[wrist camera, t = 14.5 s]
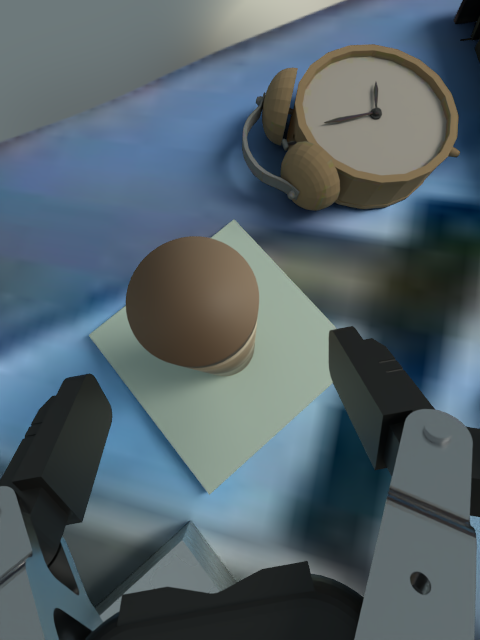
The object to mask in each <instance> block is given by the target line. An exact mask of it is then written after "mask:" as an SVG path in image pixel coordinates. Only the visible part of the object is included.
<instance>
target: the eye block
mask: <svg viewBox="0 0 480 640" xmlns="http://www.w3.org/2000/svg"><path fill="white" fill-rule="evenodd" d="M235 583H236V582H235V580H234V579H233V577H232V576H231V575H230V573H229V572H228V571H227V569H226V568H225V567H224V565H223V564H222V562H221V561H220V560H219V558H218V557H217V556H216V554H215V553H214V552H213V550H212V549H211V548H210V546H209V545H208V543H207V542H206V541H205V539H204V538H203V537H202V535H201V534H200V533H199V531H198V530H197V528H196V527H195V526H194V524H193V523H192V522H191V521H190V522H189V523H188V524H187V525H185V526H184V527H183V528H182V529H181V530H180V531H179V532H178V533H177V534H176V535H174V536H173V537H172V538H171V539H170V540H169V541H168V542H167V543H166V544H165V545H164V546H162V547H161V548H160V549H159V550H158V551H157V552H156V553H155V554H154V555H153V556H151V557H150V558H149V559H148V560H147V561H146V562H145V563H144V564H143V565H142V566H140V567H139V568H138V569H137V570H136V571H135V572H134V573H133V574H132V575H131V576H129V577H128V578H127V579H126V580H125V581H124V582H123V583H122V584H121V585H120V586H118V587H117V588H116V589H115V590H114V591H113V592H112V593H111V594H110V595H109V596H108V597H106V598H105V599H104V600H103V601H102V602H101V603H100V604H99V605H98V606H97V607H95V610H96V611H97V612H98V614H99V616H100V617H101V619H102V621H103V622H104V621H105V620H107V619H108V618H110V617H111V616H113V615H114V614H115V613H117V612H119V610H120V604H121V598H122V595H124V594H129V593H135V592H140V591H146V590H151V589H157V588H162V587H174V588H180V589H186V590H192V591H199V592H205V593H218V592H220V591H222V590H224V589H226V588H228V587H230V586H232V585H233V584H235Z"/></svg>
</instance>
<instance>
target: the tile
mask: <svg viewBox="0 0 480 640" xmlns="http://www.w3.org/2000/svg"><path fill="white" fill-rule="evenodd" d="M211 239H215V240H218V241H220V242H223V243H225V244H227V245H229V246H230V247H232V248H233V249H234V250H236V251H237V252H238V253H239V254H240V255H241V256H242V257H243V258H244V259H245V260H246V261H247V263H248V264H249V266H250V267H251V269H252V271H253V273H254V275H255V278H256V281H257V284H258V290H259V310H258V319H257V328H256V338H255V347H254V354H253V357H252V359H251V361H250V363H249V364H248V365H247V366H246V367H245V368H244V369H243V370H242V371H241V372H239V373H237V374H235V375H231V376H217V375H213V374H209V373H205V372H201V371H198V370H194V369H190V368H186V367H182V366H178V365H174V364H171V363H167V362H165V361H163V360H160V359H158V358H157V357H155V356H153V355H152V354H151V353H149V352H148V351H147V350H146V349H145V348H144V347H143V346H142V345H141V344H140V343H139V342H138V340H137V339H136V337H135V336H134V334H133V332H132V330H131V328H130V325H129V322H128V319H127V313H126V306H125V307H123V308H122V309H121V310H120V311H118V312H117V313H116V314H115V315H113V316H112V317H111V318H110V319H108V320H107V321H106V322H105V323H103V324H102V325H101V326H100V327H98V328H97V329H96V330H95V331H93V332H92V333H91V334H90V335H89V336H90V338H91V339H92V340H93V342H94V343H95V344H96V346H97V347H98V348H99V350H100V351H101V352H102V354H103V355H104V356H105V358H106V359H107V360H108V362H109V363H110V364H111V366H112V367H113V368H114V369H115V371H116V372H117V373H118V375H119V376H120V377H121V379H122V380H123V381H124V383H125V384H126V385H127V387H128V388H129V389H130V391H131V392H132V393H133V395H134V396H135V397H136V399H137V400H138V401H139V402H140V404H141V405H142V406H143V408H144V409H145V410H146V412H147V413H148V414H149V416H150V417H151V418H152V420H153V421H154V422H155V424H156V425H157V426H158V428H159V429H160V430H161V432H162V433H163V434H164V435H165V437H166V438H167V439H168V441H169V442H170V443H171V445H172V446H173V447H174V449H175V450H176V451H177V453H178V454H179V455H180V457H181V458H182V459H183V461H184V462H185V463H186V465H187V466H188V467H189V468H190V470H191V471H192V472H193V474H194V475H195V476H196V478H197V479H198V480H199V482H200V483H201V484H202V486H203V487H204V488H205V490H206V491H207V492H208V494H209V495H210V494H211V493H212V492H213V491H214V490H215V489H216V488H217V487H218V486H219V485H221V484H222V483H223V482H224V481H225V480H226V479H227V478H228V477H229V476H231V475H232V474H233V473H234V472H235V471H236V470H237V469H238V468H239V467H240V466H242V465H243V464H244V463H245V462H246V461H247V460H248V459H249V458H250V457H251V456H253V455H254V454H255V453H256V452H257V451H258V450H259V449H260V448H261V447H263V446H264V445H265V444H266V443H267V442H268V441H269V440H270V439H271V438H272V437H274V436H275V435H276V434H277V433H278V432H279V431H280V430H281V429H282V428H283V427H285V426H286V425H287V424H288V423H289V422H290V421H291V420H292V419H293V418H294V417H296V416H297V415H298V414H299V413H300V412H301V411H302V410H303V409H304V408H306V407H307V406H308V405H309V404H310V403H311V402H312V401H313V400H314V399H315V398H317V397H318V396H319V395H320V394H321V393H322V392H323V391H324V390H325V389H326V388H328V387H329V386H330V385H331V384H332V383H333V382H332V379H331V376H330V372H329V331H330V330H334V329H337V328H336V327H335V326H334V325H333V324H332V323H331V322H330V321H329V320H328V319H327V318H326V317H325V316H324V315H323V314H322V312H321V311H320V310H319V309H318V308H317V307H316V306H315V305H314V304H313V303H312V302H311V301H310V300H309V299H308V298H307V296H306V295H305V294H304V293H303V292H302V291H301V290H300V289H299V288H298V287H297V286H296V285H295V284H294V283H293V282H292V280H291V279H290V278H289V277H288V276H287V275H286V274H285V273H284V272H283V271H282V270H281V269H280V268H279V267H278V266H277V264H276V263H275V262H274V261H273V260H272V259H271V258H270V257H269V256H268V255H267V254H266V253H265V252H264V251H263V250H262V248H261V247H260V246H259V245H258V244H257V243H256V242H255V241H254V240H253V239H252V238H251V237H250V236H249V235H248V234H247V232H246V231H245V230H244V229H243V228H242V227H241V226H240V225H239V224H238V223H237V222H236V221H235V220H233V221H231V222H230V223H229V224H228V225H226V226H225V227H224V228H223V229H221V230H220V231H219V232H218V233H216V234H215V235H214V236H213V237H211Z"/></svg>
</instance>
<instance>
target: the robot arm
mask: <svg viewBox="0 0 480 640" xmlns="http://www.w3.org/2000/svg"><path fill="white" fill-rule="evenodd" d="M329 372H330V376H331V379H332V382H333V384H334V386H335V388H336V390H337V392H338V394H339V396H340V399H341V401H342V403H343V405H344V407H345V409H346V411H347V413H348V415H349V417H350V419H351V421H352V423H353V425H354V428H355V430H356V432H357V434H358V436H359V438H360V440H361V442H362V444H363V446H364V448H365V450H366V452H367V454H368V457H369V459H370V461H371V463H372V465H373V467H374V469H375V470H378V469H383V468H388V470H389V472H390V474H391V476H392V480H391V484H390V489H389V492H388V496H387V500H386V504H385V509H384V513H383V517H382V522H381V526H380V530H379V535H378V539H377V543H376V548H375V552H374V556H373V561H372V565H371V569H370V574H369V578H368V582H367V587H366V591H365V595H364V598H363V597H362V596H361V595H360V594H358V593H357V592H356V591H354V590H352V589H351V588H349V587H348V586H346V585H344V584H342V583H340V582H338V581H336V580H333V579H331V578H327V577H324V576H321V575H315V574H311V573H310V569H309V565H308V561H305V562H299V563H294V564H288V565H283V566H277V567H272V568H266V569H262V570H260V571H258V572H256V573H254V574H252V575H250V576H248V577H247V578H245V579H243V580H241V581H239V582H237V583H235V584H233V585H232V586H230V587H228V588H226V589H224V590H222V591H220V592H218V593H205V592H199V591H192V590H186V589H180V588H174V587H162V588H157V589H151V590H146V591H140V592H135V593H129V594H124V595H122V598H121V604H120V610H119V612H117V613H115V614H114V615H113V616H111V617H110V618H108V619H107V620H105V621H104V622H103V621H102V619H101V617H100V616H99V614H98V612H97V611H96V610H95V608H94V607H93V605H92V604H91V602H90V600H89V598H88V596H87V594H86V592H85V589H84V586H83V584H82V581H81V579H80V576H79V574H78V571H77V569H76V566H75V564H74V561H73V559H72V556H71V554H70V551H69V548H68V546H67V543H66V541H65V539H64V538H63V537H62V535H63V532H64V529H65V526H66V525H69V524H74V523H80V522H82V521H83V518H84V514H85V511H86V508H87V504H88V501H89V497H90V494H91V491H92V487H93V484H94V480H95V477H96V474H97V470H98V467H99V463H100V460H101V457H102V453H103V450H104V446H105V443H106V439H107V436H108V433H109V429H110V426H111V422H112V409H111V406H110V403H109V402H108V400H107V398H106V396H105V394H104V393H103V391H102V389H101V387H100V385H99V384H98V382H97V380H96V378H95V377H94V376H93V375H92V374H85V375H80V376H74V377H69V378H66V379H65V380H64V381H63V383H62V385H61V387H60V389H59V391H58V393H57V395H56V396H52V397H51V398H50V399H49V400H48V401H47V402H46V403H45V404H44V405H43V406H42V407H41V408H40V409H39V411H38V413H37V414H36V416H35V418H34V420H33V422H32V423H31V425H32V426H31V427H29V429H28V431H27V433H26V434H25V439H23V440H22V442H21V443H20V445H19V447H18V449H17V451H16V453H15V454H14V456H13V458H12V460H11V462H10V463H9V465H8V467H7V469H6V471H5V473H4V474H3V476H2V478H1V480H0V640H474V633H475V591H476V549H477V543H476V533H475V529H474V528H473V527H471V525H470V515H471V516H477V517H480V429H477V428H470V427H466V426H465V425H464V424H463V423H462V422H460V421H459V420H458V419H456V418H455V417H453V416H451V415H449V414H447V413H445V412H442V411H439V410H435V409H434V407H433V406H432V405H431V404H430V402H429V401H428V400H427V399H426V397H425V396H424V395H423V393H422V392H421V391H420V390H419V388H418V387H417V386H416V385H415V383H414V382H413V381H412V379H411V378H410V377H409V376H408V374H407V373H406V372H405V371H403V369H402V367H401V365H400V364H399V363H398V362H397V361H395V358H394V356H393V355H392V354H391V353H390V351H389V350H388V349H387V348H386V347H385V346H384V345H382V344H380V343H379V342H377V341H376V340H374V339H372V338H371V339H366V340H363V339H362V337H361V336H360V334H359V333H358V332H357V330H356V329H355V328H354V327H353V326H351V327H345V328H340V329H334V330H330V331H329Z"/></svg>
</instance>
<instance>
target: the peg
mask: <svg viewBox="0 0 480 640" xmlns="http://www.w3.org/2000/svg"><path fill="white" fill-rule="evenodd" d="M258 310H259V290H258V284H257V281H256V278H255V275H254V273H253V271H252V269H251V267H250V266H249V264H248V263H247V261H246V260H245V259H244V258H243V257H242V256H241V255H240V254H239V253H238V252H237V251H236V250H234V249H233V248H232V247H230V246H229V245H227V244H225V243H223V242H220V241H218V240H215V239H211V238H207V237H183V238H179V239H175V240H172V241H169V242H167V243H165V244H163V245H161V246H159V247H157V248H156V249H155V250H153V251H152V252H151V253H149V254H148V255H147V256H146V257H145V258H144V259H143V260H142V262H141V263H140V264H139V265H138V267H137V268H136V270H135V271H134V273H133V275H132V277H131V280H130V283H129V285H128V289H127V294H126V313H127V319H128V322H129V325H130V328H131V330H132V332H133V334H134V336H135V337H136V339H137V340H138V342H139V343H140V344H141V345H142V346H143V347H144V348H145V349H146V350H147V351H148V352H149V353H151V354H152V355H153V356H155V357H157V358H158V359H160V360H163V361H165V362H167V363H171V364H174V365H178V366H182V367H186V368H190V369H194V370H198V371H201V372H205V373H209V374H213V375H217V376H231V375H235V374H237V373H239V372H241V371H242V370H243V369H244V368H245V367H246V366H247V365H248V364H249V363H250V361H251V359H252V357H253V354H254V347H255V338H256V328H257V319H258Z"/></svg>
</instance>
